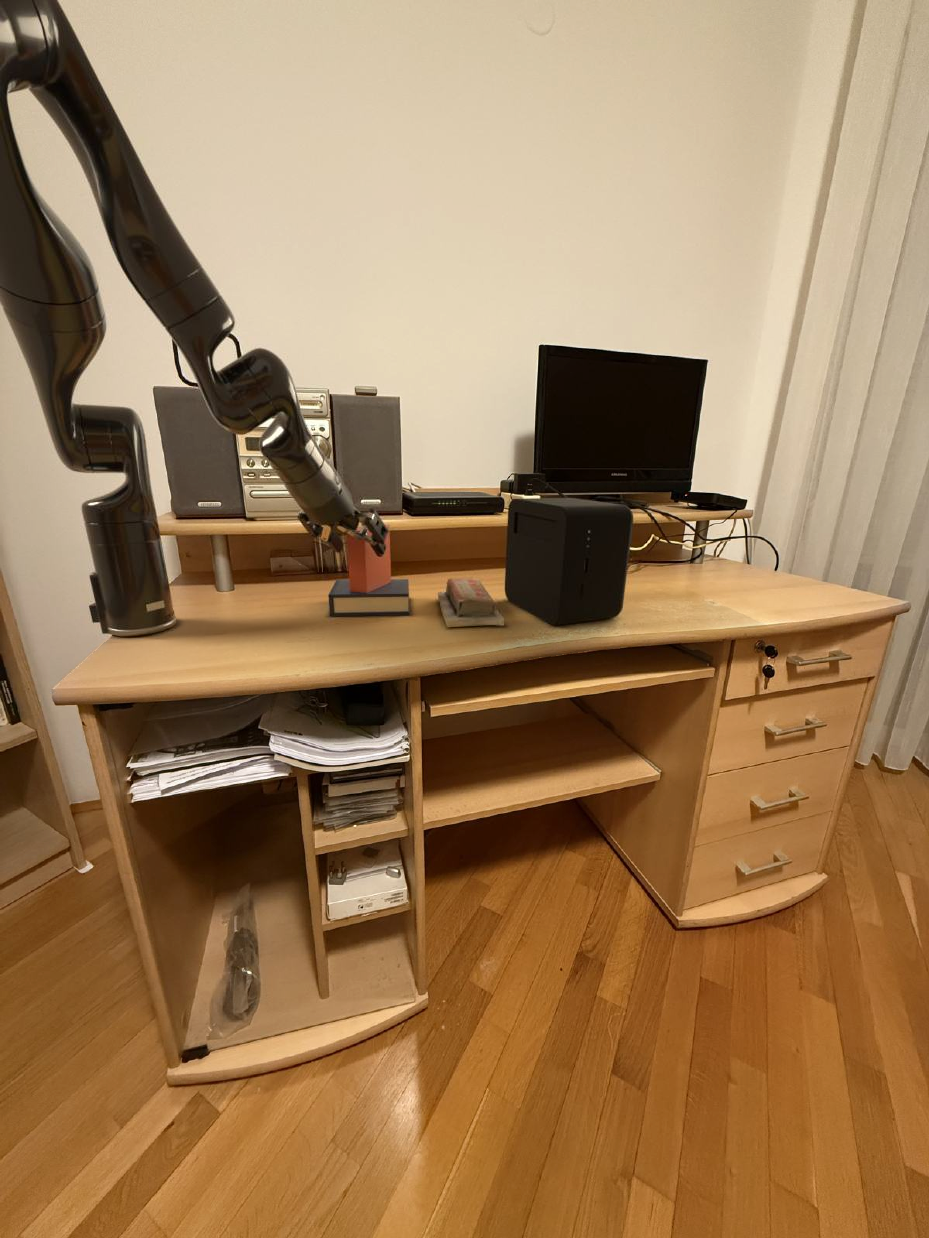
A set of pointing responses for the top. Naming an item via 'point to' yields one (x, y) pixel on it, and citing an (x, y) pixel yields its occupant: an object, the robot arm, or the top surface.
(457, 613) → the packaged product
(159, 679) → the top surface
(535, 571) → the black nas enclosure
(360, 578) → the red rectangular block
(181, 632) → the top surface
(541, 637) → the top surface
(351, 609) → the big book
